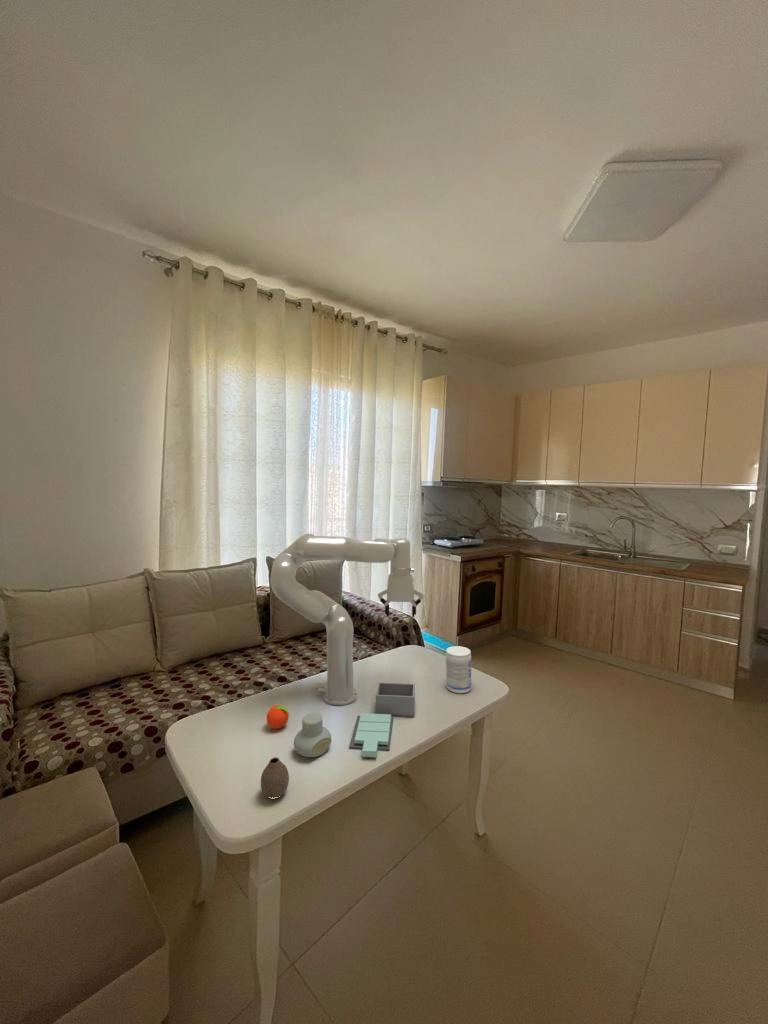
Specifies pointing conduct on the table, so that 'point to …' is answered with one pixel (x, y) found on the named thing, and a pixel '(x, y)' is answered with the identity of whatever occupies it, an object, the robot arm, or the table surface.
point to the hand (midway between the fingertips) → (400, 615)
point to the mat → (360, 746)
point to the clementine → (277, 716)
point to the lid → (373, 732)
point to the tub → (395, 699)
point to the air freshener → (312, 736)
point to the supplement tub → (458, 669)
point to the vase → (274, 778)
